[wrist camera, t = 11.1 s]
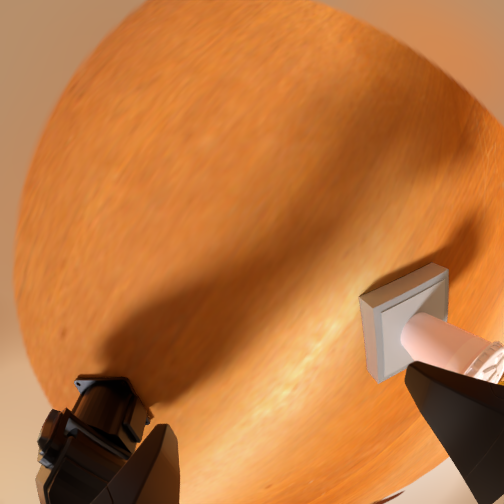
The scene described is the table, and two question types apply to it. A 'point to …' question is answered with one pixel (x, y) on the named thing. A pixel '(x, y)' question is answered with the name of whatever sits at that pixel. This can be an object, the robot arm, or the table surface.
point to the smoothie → (452, 348)
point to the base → (400, 316)
